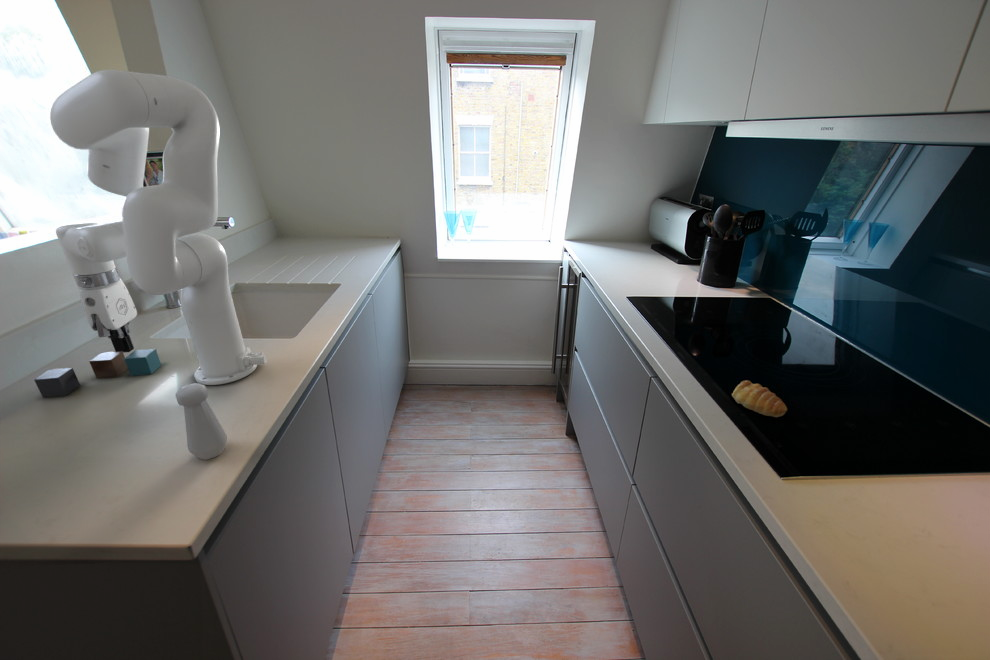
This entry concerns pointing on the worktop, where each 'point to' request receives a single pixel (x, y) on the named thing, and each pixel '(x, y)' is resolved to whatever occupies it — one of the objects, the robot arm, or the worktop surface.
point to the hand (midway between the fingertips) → (125, 350)
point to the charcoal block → (57, 382)
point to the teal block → (142, 362)
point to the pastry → (759, 399)
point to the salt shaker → (201, 423)
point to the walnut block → (109, 364)
